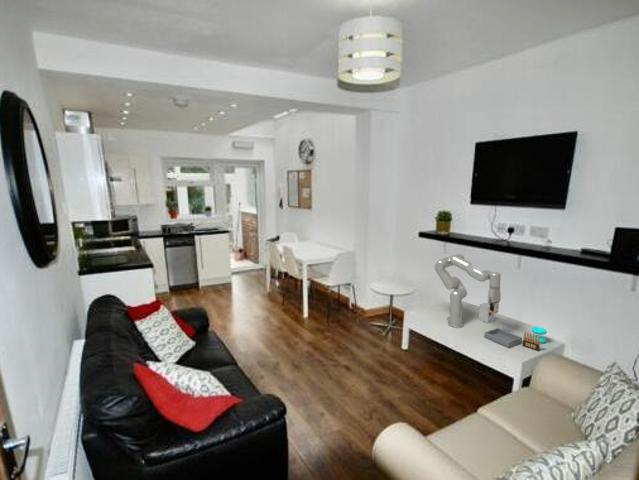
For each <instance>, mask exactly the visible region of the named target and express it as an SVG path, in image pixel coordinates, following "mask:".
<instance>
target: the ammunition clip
mask: <svg viewBox="0 0 639 480" xmlns="http://www.w3.org/2000/svg"><path fill="white" fill-rule="evenodd" d="M534 335H535V339H534ZM537 335H538V334H535V333H532V332H527V331H526V330H525V331H524V333H523V337H522V344H521V345H522V347H525V348H526V349H529V350H532V351H533V350H534V351H536V352H539V351H540V344H541V343H540V337H539V335H538V339H537ZM531 336H532V339H531Z"/></svg>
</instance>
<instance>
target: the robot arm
mask: <svg viewBox="0 0 639 480" xmlns="http://www.w3.org/2000/svg"><path fill="white" fill-rule="evenodd" d="M451 266H455V267H457V268H458V269H461V270H462V271H464V272H465V273H466V274H467V275H469V277H471V278H472V279H474V280H477V281H478V282H481V283H482V282H486V281H488V280H489V288H488V290H487V291H488V293H487V303H488V304H489V305H490V310H491V311H494V302H499V303H500V301H501V298H502V297H501V295H502V294H501V277H502V276H501V275H502V274H501V273H500V272H498V271H493V270H487V269H483V270H482V271H480V270H478V269H476V268H474V267H473V263H472V262H471V261H469V260H467V259H466V258H465V256H464V255H463V254H461V253H457V254H453V255H450V256H445V257H443V258H440V259H439V260H437V261H436V262H435V264H434V270H435V272H436V274H437V275H438V277H439V278H440V280H441V282H442V284H443V285H444V286H445V288H446V289H448V290H452V291H451V292H450V294H449V300H450V307H449V308H450V309H449V316H447V318H446V320H448V321H447V324H448V325H447V326H450V327H451V328H456V329H457V328H462V327H464V323H463V322H462V321H463V316H462V315H463V299H464V298H466V297H467V295H468V291H467V289H466V288H465V286H464V283H462V281H461V279H459V278H458V277H457V276H451V274H450V272H449V271H448V270H446V268H449V267H451Z"/></svg>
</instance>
